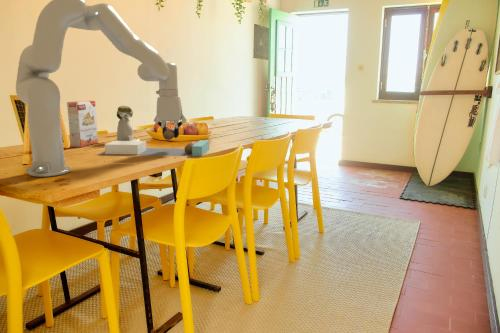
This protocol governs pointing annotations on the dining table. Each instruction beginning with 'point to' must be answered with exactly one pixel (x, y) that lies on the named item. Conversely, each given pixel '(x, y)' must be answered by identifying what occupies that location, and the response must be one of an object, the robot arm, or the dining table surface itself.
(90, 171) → the dining table surface
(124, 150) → the slab
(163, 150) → the mat
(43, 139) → the robot arm
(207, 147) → the stop block
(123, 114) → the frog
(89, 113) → the cracker box
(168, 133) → the roller
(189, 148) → the roller
